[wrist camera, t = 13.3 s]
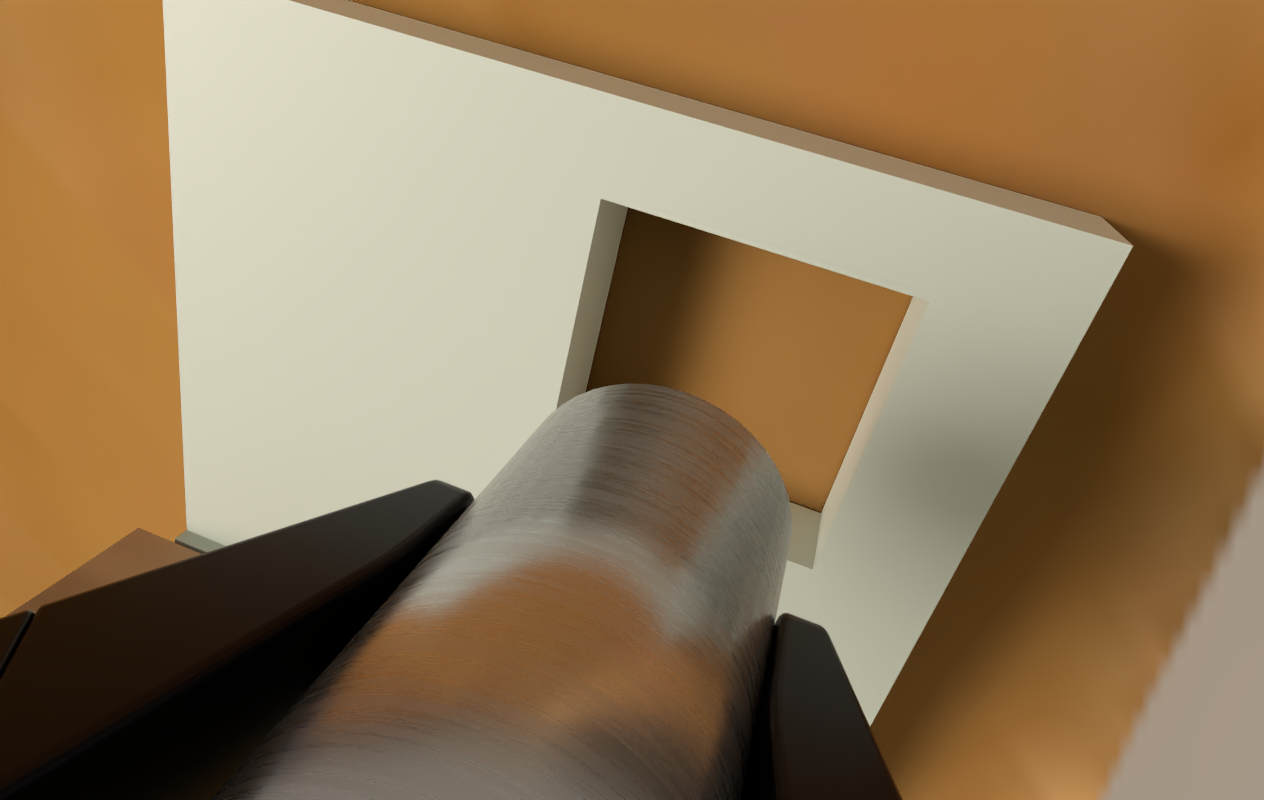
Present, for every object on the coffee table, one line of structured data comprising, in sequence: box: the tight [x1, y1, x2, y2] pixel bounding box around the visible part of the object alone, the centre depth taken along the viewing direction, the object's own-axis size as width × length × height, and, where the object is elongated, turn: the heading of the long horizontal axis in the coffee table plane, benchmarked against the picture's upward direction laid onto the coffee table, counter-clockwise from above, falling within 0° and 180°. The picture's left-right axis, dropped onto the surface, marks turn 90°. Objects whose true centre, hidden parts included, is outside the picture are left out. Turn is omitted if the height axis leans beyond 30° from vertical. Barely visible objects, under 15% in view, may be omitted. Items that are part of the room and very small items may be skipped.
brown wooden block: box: [7, 528, 200, 616], centre depth 15 cm, size 6×6×4 cm
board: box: [163, 0, 1133, 726], centre depth 14 cm, size 16×13×2 cm
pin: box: [211, 383, 792, 800], centre depth 6 cm, size 3×3×7 cm
